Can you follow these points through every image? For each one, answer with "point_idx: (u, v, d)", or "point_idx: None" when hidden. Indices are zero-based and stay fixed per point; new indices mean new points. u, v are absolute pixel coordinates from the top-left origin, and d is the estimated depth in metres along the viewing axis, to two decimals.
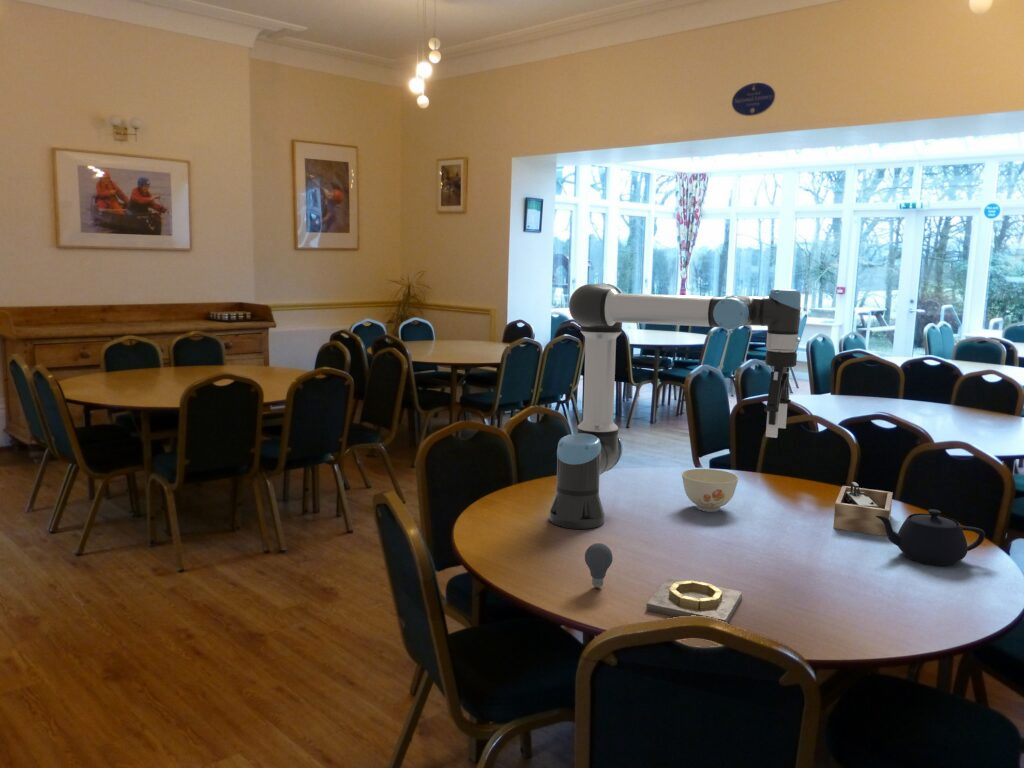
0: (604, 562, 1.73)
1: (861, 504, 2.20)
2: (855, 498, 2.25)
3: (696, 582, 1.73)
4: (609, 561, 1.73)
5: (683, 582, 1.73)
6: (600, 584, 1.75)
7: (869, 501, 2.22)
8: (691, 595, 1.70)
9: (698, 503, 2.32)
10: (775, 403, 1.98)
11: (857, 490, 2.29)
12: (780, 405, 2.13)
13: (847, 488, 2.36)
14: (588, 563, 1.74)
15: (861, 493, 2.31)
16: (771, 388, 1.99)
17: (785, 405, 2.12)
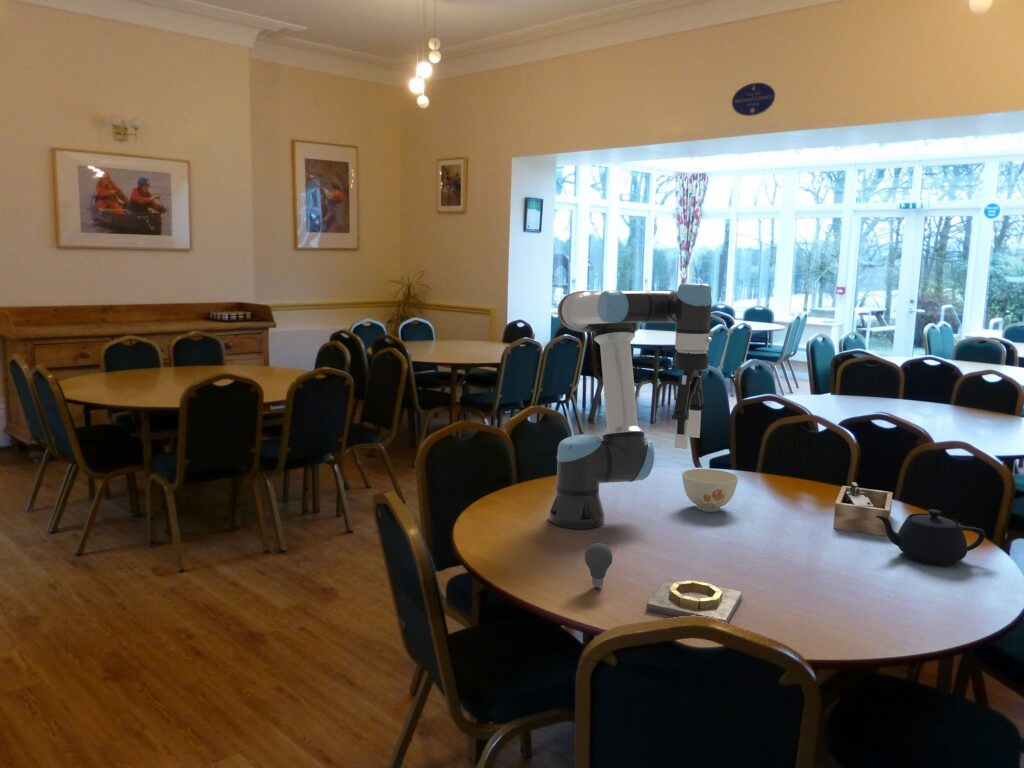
0: (604, 562, 1.73)
1: (857, 504, 2.20)
2: (853, 498, 2.25)
3: (696, 582, 1.73)
4: (609, 561, 1.73)
5: (683, 582, 1.73)
6: (600, 584, 1.75)
7: (866, 501, 2.22)
8: (691, 595, 1.70)
9: (698, 503, 2.32)
10: (683, 410, 1.77)
11: (857, 490, 2.29)
12: (693, 412, 1.92)
13: (847, 488, 2.36)
14: (588, 563, 1.74)
15: (861, 493, 2.31)
16: (679, 394, 1.79)
17: (698, 412, 1.92)
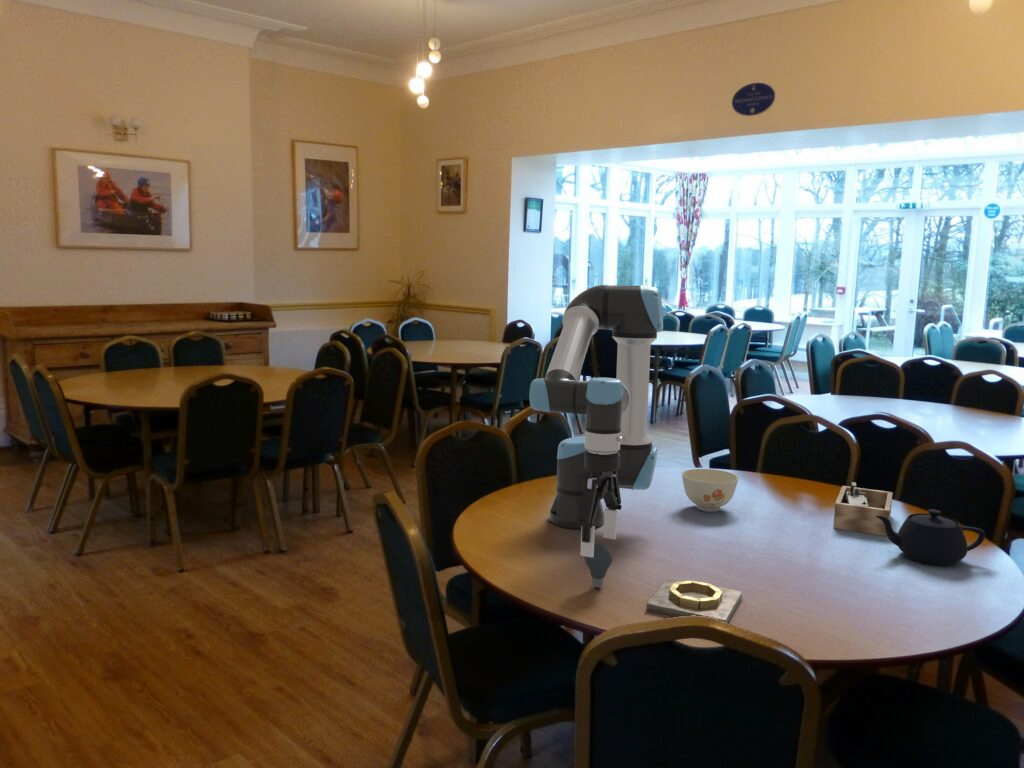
0: (604, 562, 1.73)
1: (852, 503, 2.20)
2: (850, 498, 2.25)
3: (696, 582, 1.73)
4: (609, 561, 1.73)
5: (683, 582, 1.73)
6: (600, 584, 1.75)
7: (863, 501, 2.22)
8: (691, 595, 1.70)
9: (698, 503, 2.32)
10: (587, 517, 1.65)
11: (856, 490, 2.29)
12: (608, 512, 1.80)
13: (847, 488, 2.36)
14: (588, 563, 1.74)
15: (861, 494, 2.30)
16: (584, 499, 1.66)
17: (614, 512, 1.79)
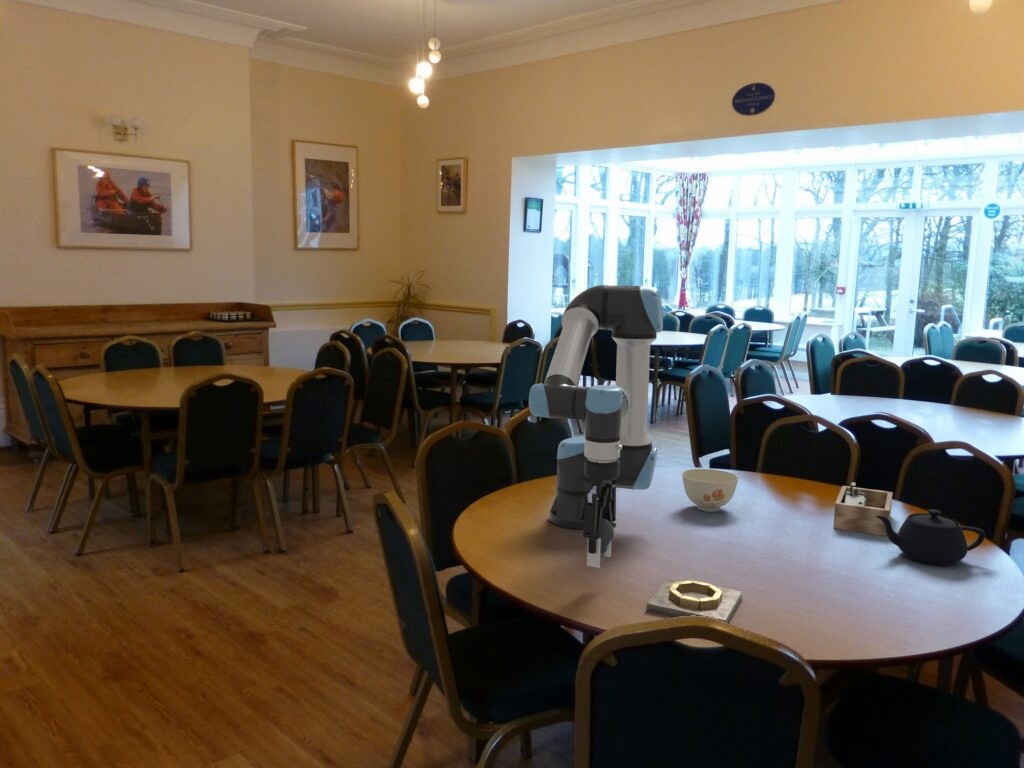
0: (605, 537, 1.72)
1: (847, 503, 2.20)
2: (848, 497, 2.25)
3: (696, 582, 1.73)
4: (610, 535, 1.73)
5: (683, 582, 1.73)
6: (601, 558, 1.75)
7: (859, 501, 2.22)
8: (691, 595, 1.70)
9: (698, 503, 2.32)
10: (592, 531, 1.68)
11: (855, 490, 2.29)
12: None
13: (847, 488, 2.36)
14: None
15: (861, 494, 2.30)
16: (586, 513, 1.69)
17: None
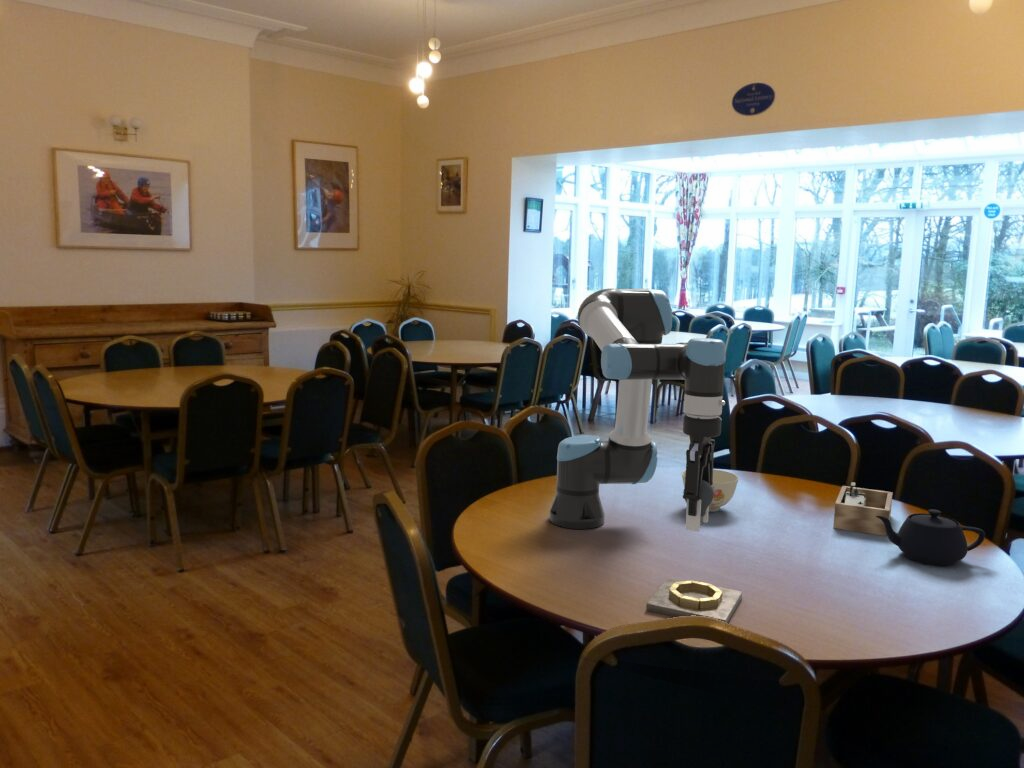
0: (706, 498, 1.63)
1: (847, 503, 2.20)
2: (848, 497, 2.26)
3: (696, 582, 1.73)
4: (711, 497, 1.63)
5: (683, 582, 1.73)
6: (700, 522, 1.65)
7: (859, 501, 2.22)
8: (691, 595, 1.70)
9: None
10: (694, 491, 1.59)
11: (855, 490, 2.29)
12: None
13: (847, 488, 2.36)
14: None
15: (861, 494, 2.30)
16: (688, 472, 1.59)
17: None
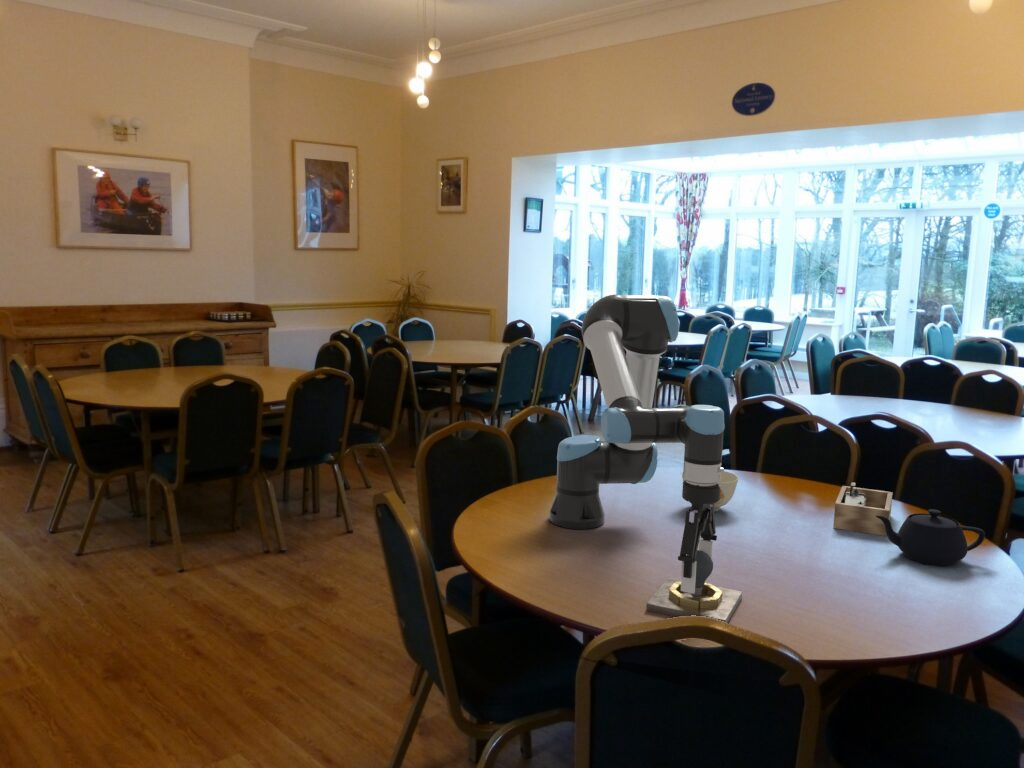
0: (706, 570, 1.65)
1: (847, 503, 2.20)
2: (848, 498, 2.25)
3: None
4: (710, 569, 1.66)
5: None
6: (698, 593, 1.67)
7: (859, 501, 2.22)
8: (691, 595, 1.70)
9: None
10: (690, 553, 1.58)
11: (855, 490, 2.28)
12: (704, 543, 1.73)
13: (847, 488, 2.36)
14: None
15: (861, 494, 2.30)
16: (686, 533, 1.59)
17: (710, 543, 1.72)
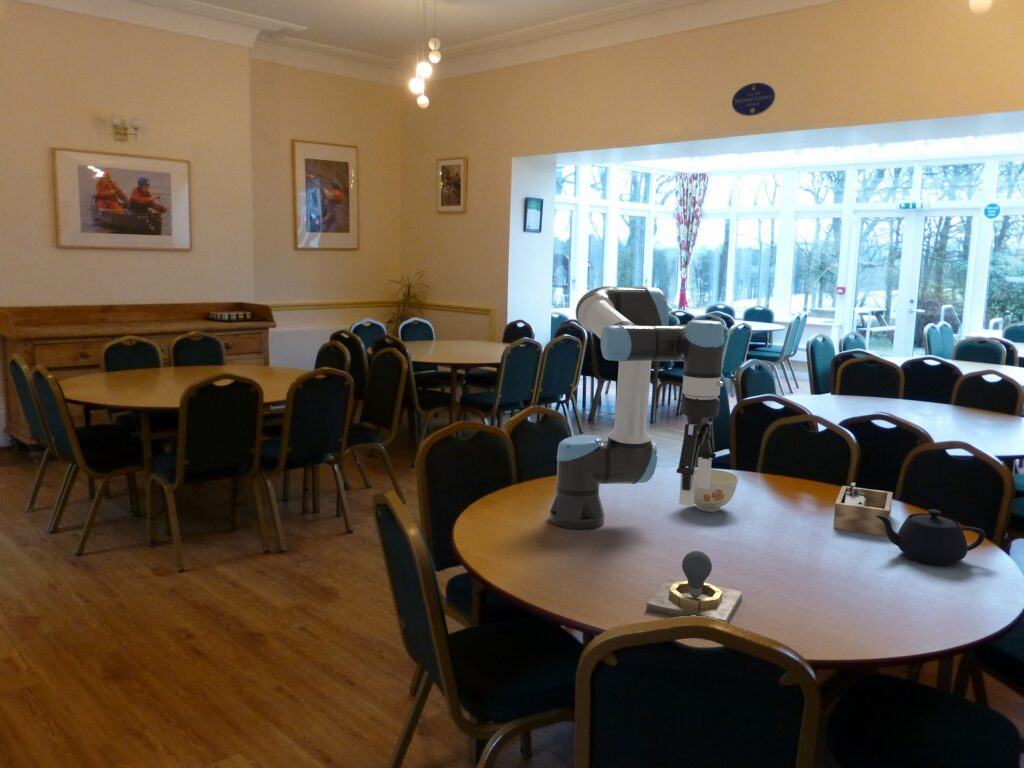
0: (704, 571, 1.65)
1: (847, 503, 2.20)
2: (848, 498, 2.25)
3: None
4: (709, 570, 1.65)
5: (683, 582, 1.73)
6: (698, 594, 1.67)
7: (859, 501, 2.22)
8: None
9: (698, 503, 2.32)
10: (689, 464, 1.58)
11: (855, 490, 2.28)
12: (703, 461, 1.73)
13: (847, 488, 2.36)
14: (687, 572, 1.66)
15: (861, 494, 2.30)
16: (685, 445, 1.60)
17: (708, 461, 1.73)
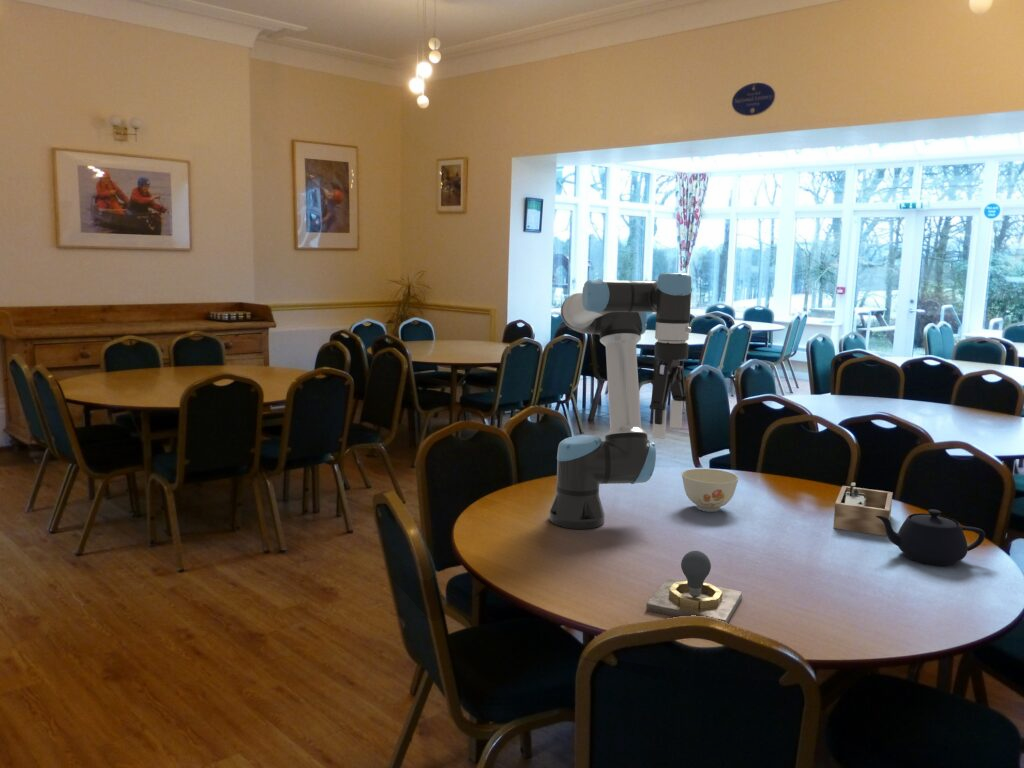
0: (703, 571, 1.65)
1: (847, 503, 2.20)
2: (848, 498, 2.25)
3: None
4: (708, 569, 1.65)
5: (683, 582, 1.73)
6: (698, 594, 1.67)
7: (859, 501, 2.22)
8: None
9: (698, 503, 2.32)
10: (660, 400, 1.77)
11: (855, 490, 2.28)
12: (675, 402, 1.92)
13: (847, 488, 2.36)
14: (686, 572, 1.66)
15: (861, 494, 2.30)
16: (657, 383, 1.78)
17: (680, 402, 1.91)
